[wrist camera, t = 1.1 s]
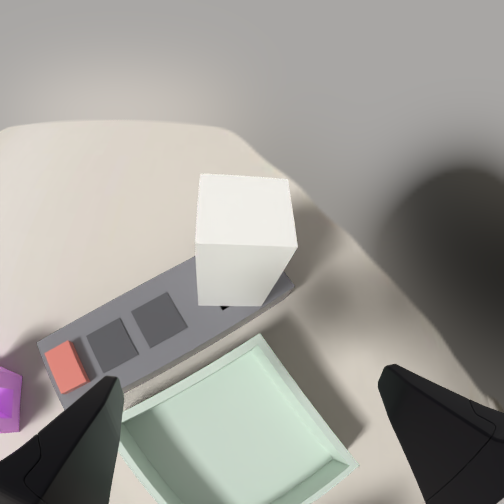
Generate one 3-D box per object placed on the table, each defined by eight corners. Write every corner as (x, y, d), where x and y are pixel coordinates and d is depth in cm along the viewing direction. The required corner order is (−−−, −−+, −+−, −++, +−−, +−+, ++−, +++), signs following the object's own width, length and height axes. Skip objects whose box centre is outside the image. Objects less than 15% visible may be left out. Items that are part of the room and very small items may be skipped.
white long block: (256, 313, 22) (297, 247, 13) (199, 312, 22) (194, 243, 12) (254, 267, 24) (287, 179, 14) (200, 266, 23) (200, 173, 14)
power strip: (246, 245, 26) (252, 222, 23) (285, 298, 24) (298, 282, 21) (53, 349, 19) (31, 340, 15) (83, 413, 17) (62, 415, 13)
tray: (339, 457, 18) (359, 465, 15) (211, 537, 13) (212, 556, 10) (252, 341, 22) (259, 332, 19) (115, 418, 17) (100, 422, 14)
